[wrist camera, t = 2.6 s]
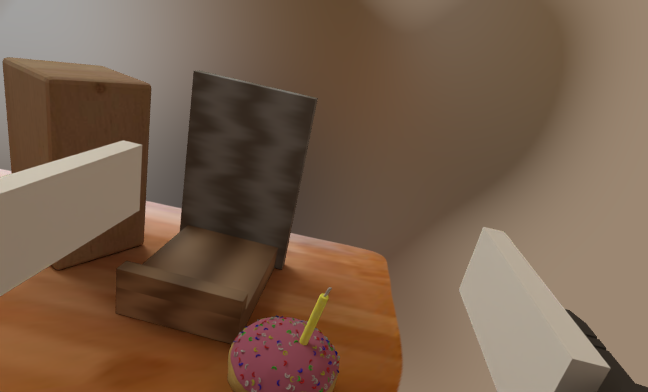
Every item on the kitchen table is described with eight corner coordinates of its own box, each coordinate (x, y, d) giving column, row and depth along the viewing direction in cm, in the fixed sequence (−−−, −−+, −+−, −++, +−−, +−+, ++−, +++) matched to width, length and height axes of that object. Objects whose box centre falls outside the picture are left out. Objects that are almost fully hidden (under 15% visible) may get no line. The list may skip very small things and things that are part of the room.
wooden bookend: (105, 310, 36) (108, 74, 29) (184, 238, 51) (199, 70, 44) (246, 348, 36) (287, 116, 28) (284, 263, 51) (317, 98, 43)
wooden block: (145, 245, 48) (153, 84, 41) (55, 273, 40) (47, 77, 33) (102, 215, 53) (103, 65, 46) (15, 234, 44) (0, 55, 38)
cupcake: (330, 376, 35) (362, 264, 31) (319, 470, 27) (360, 336, 23) (239, 353, 35) (258, 239, 31) (201, 439, 27) (220, 301, 23)
